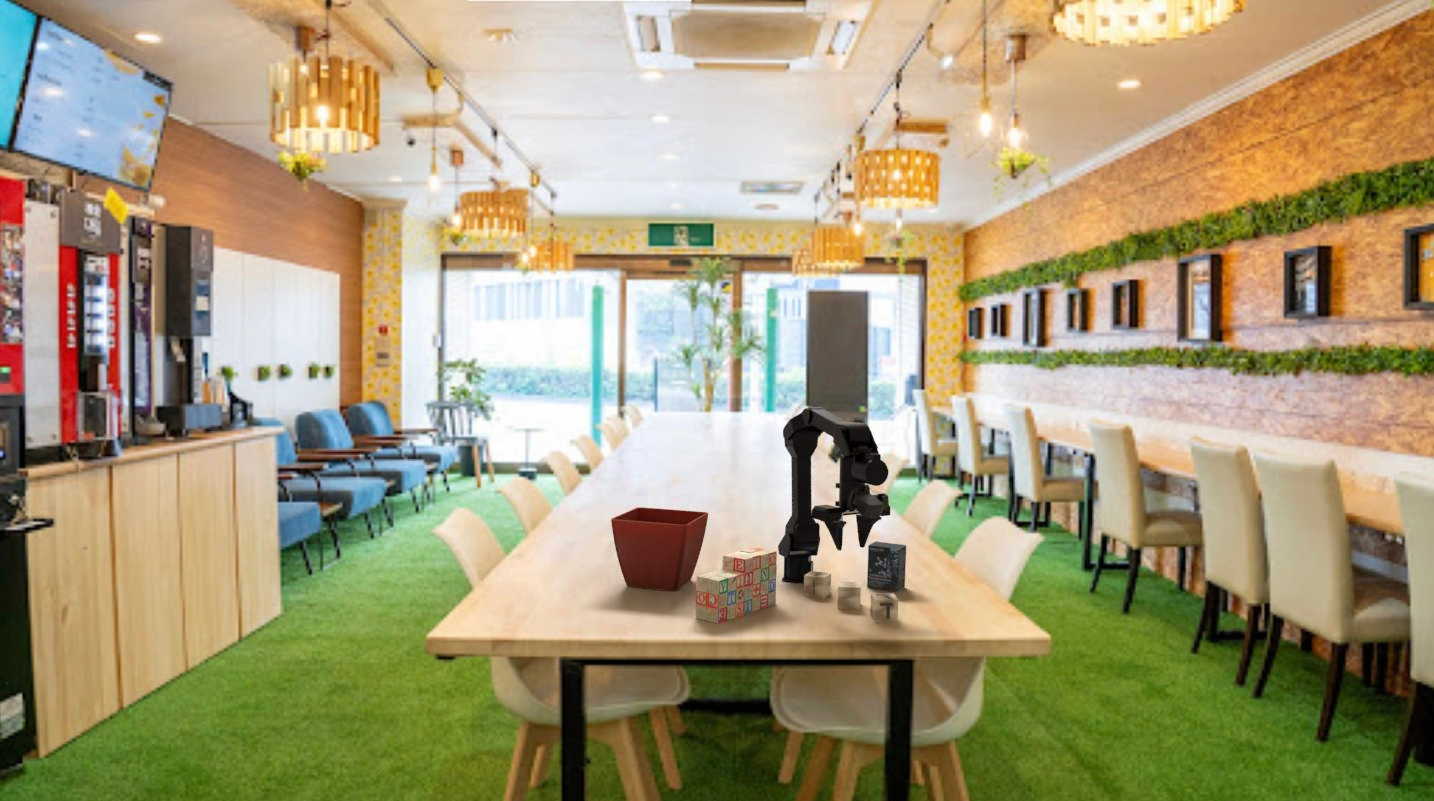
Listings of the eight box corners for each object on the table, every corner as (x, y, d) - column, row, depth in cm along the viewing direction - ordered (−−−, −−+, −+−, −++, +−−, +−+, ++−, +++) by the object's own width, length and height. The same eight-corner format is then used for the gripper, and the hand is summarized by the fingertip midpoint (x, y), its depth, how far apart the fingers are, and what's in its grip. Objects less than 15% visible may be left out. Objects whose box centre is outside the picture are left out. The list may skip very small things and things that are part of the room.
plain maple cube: (837, 608, 213) (837, 586, 212) (838, 602, 218) (838, 581, 217) (860, 609, 212) (860, 587, 212) (860, 604, 217) (861, 582, 216)
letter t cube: (874, 622, 202) (874, 599, 202) (870, 615, 208) (870, 592, 207) (897, 622, 203) (898, 599, 202) (893, 615, 208) (893, 593, 207)
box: (866, 587, 231) (867, 544, 231) (874, 582, 236) (875, 540, 236) (897, 592, 227) (899, 548, 227) (905, 587, 232) (906, 544, 232)
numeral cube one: (803, 596, 223) (803, 575, 222) (810, 591, 228) (811, 570, 227) (823, 598, 221) (824, 577, 220) (830, 593, 226) (831, 572, 225)
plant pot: (708, 577, 239) (709, 511, 238) (685, 596, 220) (686, 524, 219) (636, 571, 244) (637, 506, 243) (608, 589, 226) (609, 519, 225)
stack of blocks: (718, 624, 199) (719, 566, 198) (694, 618, 203) (695, 561, 202) (776, 603, 216) (777, 550, 215) (753, 598, 220) (754, 546, 219)
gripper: (843, 487, 201) (841, 560, 202) (908, 481, 211) (906, 551, 212) (810, 480, 211) (809, 550, 211) (874, 475, 221) (872, 542, 222)
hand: (850, 548), depth 214 cm, fingers open, 6 cm apart
